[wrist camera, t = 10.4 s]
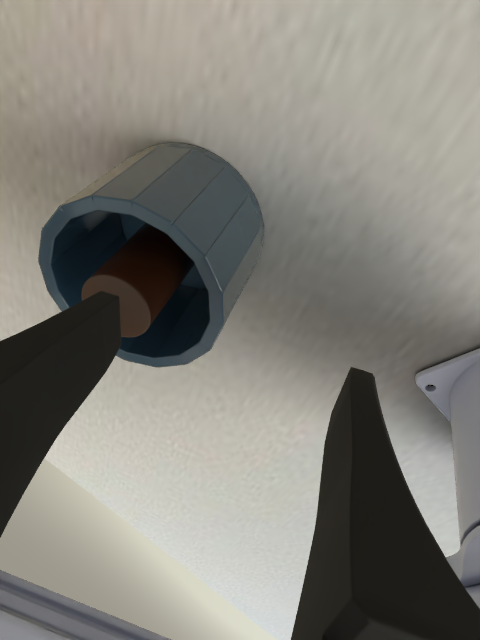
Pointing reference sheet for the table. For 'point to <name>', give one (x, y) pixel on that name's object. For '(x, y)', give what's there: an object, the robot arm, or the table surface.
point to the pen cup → (180, 225)
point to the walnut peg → (141, 277)
